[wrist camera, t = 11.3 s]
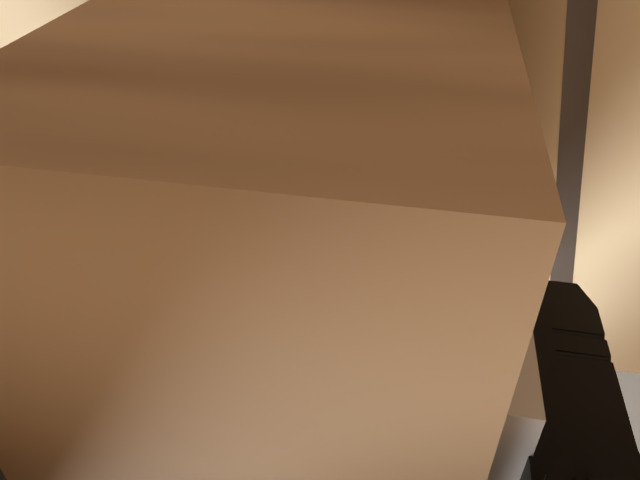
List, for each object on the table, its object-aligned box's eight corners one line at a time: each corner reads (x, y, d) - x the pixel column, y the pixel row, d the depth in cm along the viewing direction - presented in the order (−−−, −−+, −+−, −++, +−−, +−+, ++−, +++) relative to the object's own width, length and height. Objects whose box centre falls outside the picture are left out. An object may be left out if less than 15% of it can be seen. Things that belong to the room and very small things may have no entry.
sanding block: (431, 321, 15) (413, 718, 9) (247, 297, 16) (101, 648, 9) (492, -57, 10) (566, 224, 3) (213, -68, 11) (-180, 145, 4)
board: (35, 259, 19) (7, 290, 18) (-115, -146, 13) (-175, -140, 11) (864, 361, 16) (897, 407, 14) (1259, -127, 9) (1381, -116, 8)
